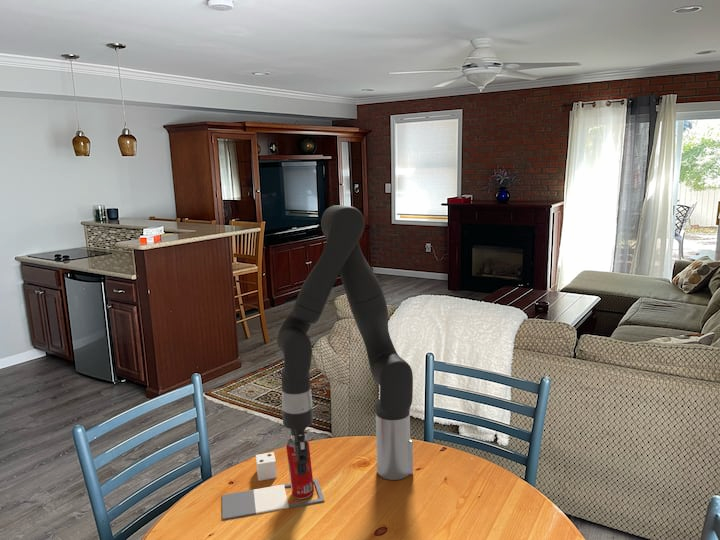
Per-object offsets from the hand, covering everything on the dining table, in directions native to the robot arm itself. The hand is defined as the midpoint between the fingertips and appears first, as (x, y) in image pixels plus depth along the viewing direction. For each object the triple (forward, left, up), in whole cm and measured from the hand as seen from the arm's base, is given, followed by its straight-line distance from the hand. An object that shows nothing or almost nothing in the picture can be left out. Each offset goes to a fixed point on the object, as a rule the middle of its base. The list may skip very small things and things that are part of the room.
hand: (300, 467), depth 136 cm
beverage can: (0, 0, -8) cm, 8 cm away
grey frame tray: (+8, 0, -8) cm, 11 cm away
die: (+8, -12, -8) cm, 16 cm away
